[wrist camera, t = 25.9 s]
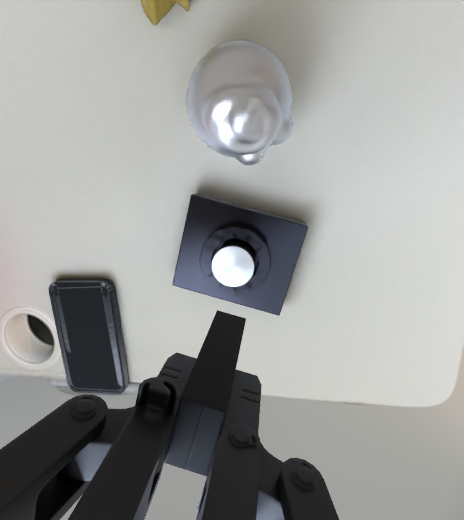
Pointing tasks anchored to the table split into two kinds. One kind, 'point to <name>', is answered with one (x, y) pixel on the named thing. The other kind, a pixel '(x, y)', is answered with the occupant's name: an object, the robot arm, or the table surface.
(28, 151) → the table surface
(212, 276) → the panel
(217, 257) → the stove button
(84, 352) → the phone
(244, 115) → the ghost figurine
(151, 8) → the knob
